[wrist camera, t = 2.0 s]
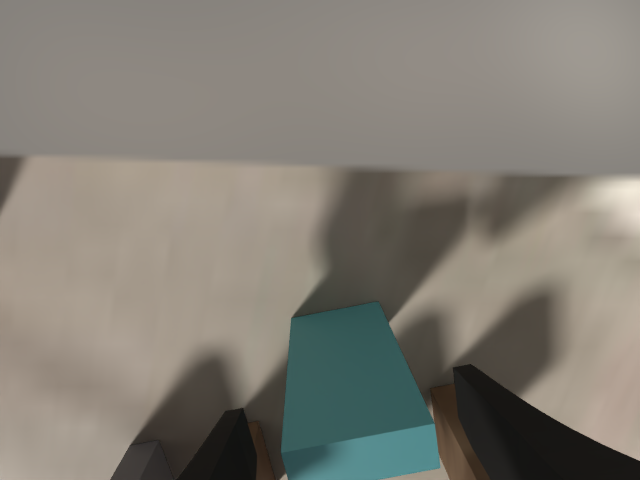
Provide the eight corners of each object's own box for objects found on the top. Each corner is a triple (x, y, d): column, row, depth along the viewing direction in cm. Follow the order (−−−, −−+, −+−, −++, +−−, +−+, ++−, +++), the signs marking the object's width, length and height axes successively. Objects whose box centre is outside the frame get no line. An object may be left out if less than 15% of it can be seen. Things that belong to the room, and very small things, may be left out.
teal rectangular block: (382, 329, 18) (440, 467, 10) (297, 346, 18) (292, 495, 11) (378, 301, 18) (434, 423, 10) (291, 318, 18) (280, 452, 10)
